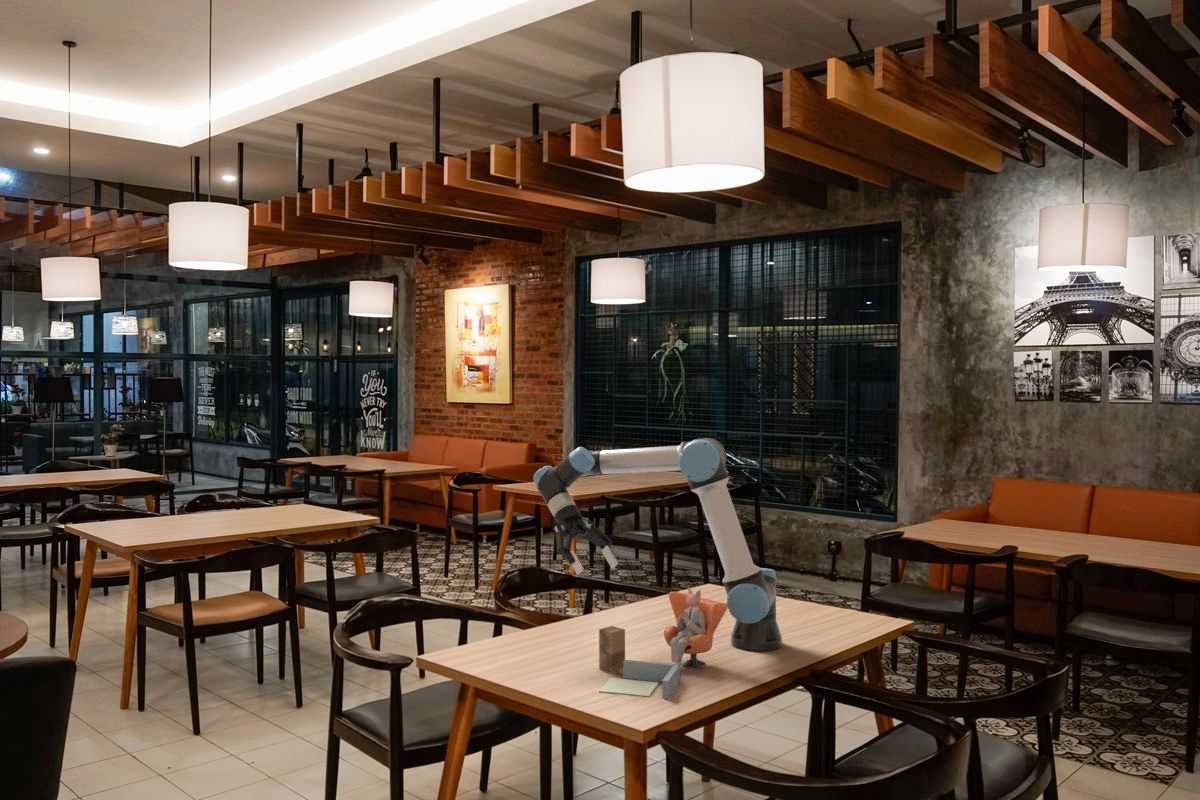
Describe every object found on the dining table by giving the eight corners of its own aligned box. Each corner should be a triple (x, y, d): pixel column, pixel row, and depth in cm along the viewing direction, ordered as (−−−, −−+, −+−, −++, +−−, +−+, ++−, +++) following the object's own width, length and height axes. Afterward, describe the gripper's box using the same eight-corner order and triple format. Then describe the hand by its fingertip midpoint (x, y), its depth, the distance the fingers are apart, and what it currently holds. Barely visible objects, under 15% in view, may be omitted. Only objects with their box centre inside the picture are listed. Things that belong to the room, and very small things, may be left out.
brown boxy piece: (636, 673, 250) (636, 632, 250) (623, 676, 246) (623, 635, 246) (612, 665, 257) (612, 626, 257) (599, 669, 253) (599, 629, 253)
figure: (635, 664, 258) (635, 588, 258) (681, 652, 270) (681, 579, 270) (691, 682, 241) (691, 601, 241) (738, 669, 253) (737, 592, 253)
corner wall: (680, 681, 242) (680, 664, 242) (668, 698, 229) (668, 680, 229) (624, 676, 247) (624, 659, 247) (610, 693, 233) (610, 675, 233)
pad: (658, 683, 241) (658, 682, 241) (649, 696, 230) (649, 695, 230) (610, 679, 244) (610, 678, 244) (599, 692, 234) (599, 690, 234)
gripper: (589, 515, 288) (622, 571, 277) (526, 522, 271) (559, 582, 260) (601, 500, 284) (635, 556, 273) (538, 506, 267) (571, 566, 256)
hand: (598, 569), depth 267 cm, fingers open, 13 cm apart
